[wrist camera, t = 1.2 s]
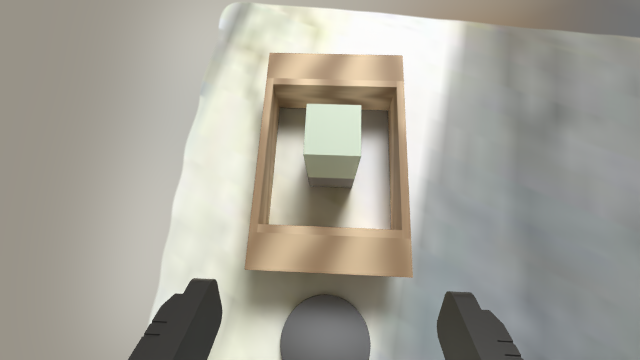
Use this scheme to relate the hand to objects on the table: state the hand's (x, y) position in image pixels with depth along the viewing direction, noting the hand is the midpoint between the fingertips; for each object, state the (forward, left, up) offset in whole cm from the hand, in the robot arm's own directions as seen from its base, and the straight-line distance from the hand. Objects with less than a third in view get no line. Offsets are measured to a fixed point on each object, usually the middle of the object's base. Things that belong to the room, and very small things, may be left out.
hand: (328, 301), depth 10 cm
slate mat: (0, +6, -22) cm, 23 cm away
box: (0, -13, -22) cm, 26 cm away
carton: (0, -13, -22) cm, 26 cm away
